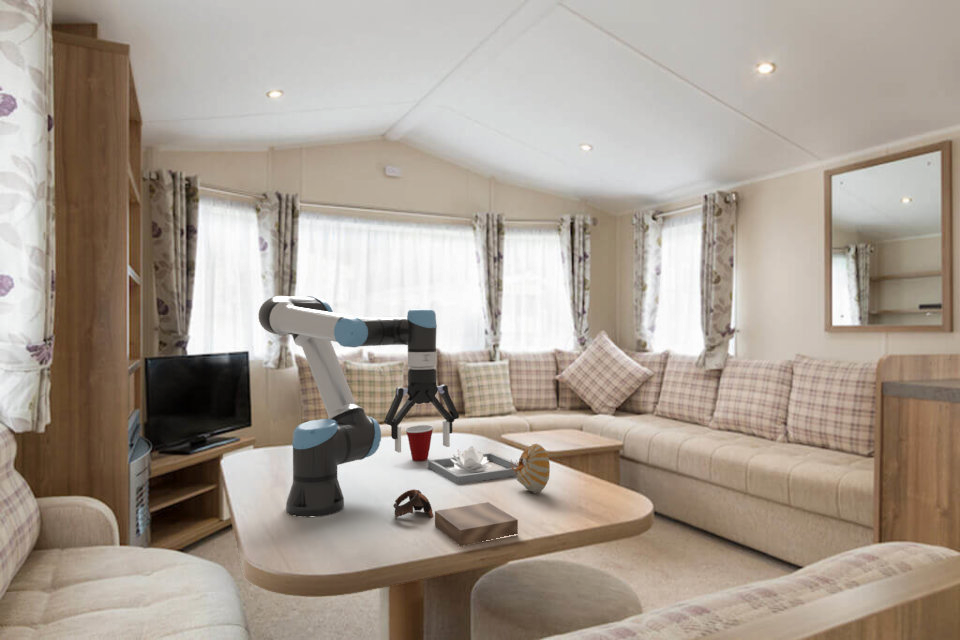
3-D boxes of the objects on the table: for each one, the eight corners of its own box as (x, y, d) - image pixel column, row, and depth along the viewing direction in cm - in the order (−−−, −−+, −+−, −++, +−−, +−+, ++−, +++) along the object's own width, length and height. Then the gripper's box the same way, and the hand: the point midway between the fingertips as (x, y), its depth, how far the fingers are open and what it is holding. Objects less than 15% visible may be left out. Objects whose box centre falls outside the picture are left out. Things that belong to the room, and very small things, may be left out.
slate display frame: (457, 484, 186) (457, 476, 186) (428, 467, 207) (428, 460, 207) (526, 474, 197) (526, 467, 197) (491, 459, 219) (491, 452, 219)
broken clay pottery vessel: (435, 524, 149) (420, 498, 148) (402, 540, 150) (387, 514, 148) (437, 500, 161) (423, 476, 159) (407, 515, 162) (392, 490, 160)
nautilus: (523, 480, 191) (523, 433, 191) (559, 498, 171) (558, 446, 171) (501, 482, 187) (501, 435, 187) (535, 501, 168) (535, 449, 168)
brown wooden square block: (460, 552, 133) (460, 530, 133) (434, 531, 146) (434, 510, 146) (517, 540, 140) (517, 519, 140) (488, 521, 153) (488, 502, 153)
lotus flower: (439, 475, 198) (439, 449, 198) (462, 465, 211) (462, 440, 211) (477, 480, 191) (477, 453, 191) (498, 470, 204) (498, 444, 204)
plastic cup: (400, 457, 222) (400, 426, 222) (427, 454, 227) (427, 423, 227) (410, 464, 212) (410, 430, 212) (438, 460, 217) (438, 428, 217)
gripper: (380, 371, 146) (381, 456, 146) (470, 366, 157) (471, 446, 157) (371, 369, 152) (372, 450, 152) (458, 365, 164) (459, 441, 164)
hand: (422, 448), depth 155 cm, fingers open, 13 cm apart
